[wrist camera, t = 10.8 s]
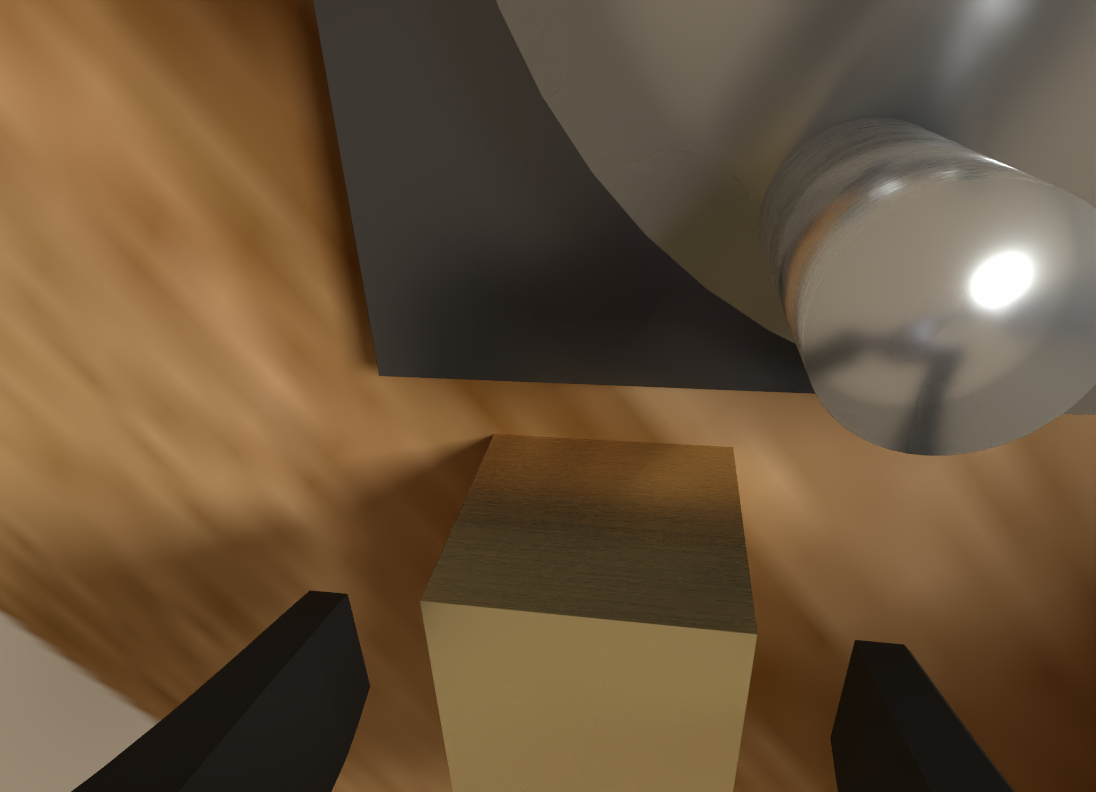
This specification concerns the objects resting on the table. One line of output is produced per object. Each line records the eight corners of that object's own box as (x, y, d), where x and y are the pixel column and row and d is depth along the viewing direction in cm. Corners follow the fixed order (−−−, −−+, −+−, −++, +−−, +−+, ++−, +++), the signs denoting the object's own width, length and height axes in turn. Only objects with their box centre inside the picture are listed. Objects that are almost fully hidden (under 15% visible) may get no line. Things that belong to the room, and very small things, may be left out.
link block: (732, 444, 11) (757, 634, 8) (713, 620, 13) (725, 835, 10) (495, 431, 12) (420, 601, 8) (509, 601, 14) (453, 796, 10)
